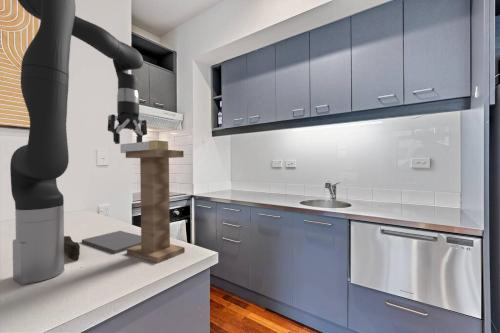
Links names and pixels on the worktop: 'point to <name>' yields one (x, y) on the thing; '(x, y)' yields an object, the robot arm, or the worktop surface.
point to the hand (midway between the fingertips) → (128, 144)
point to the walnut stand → (155, 205)
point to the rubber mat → (114, 241)
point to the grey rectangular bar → (144, 146)
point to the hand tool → (71, 248)
